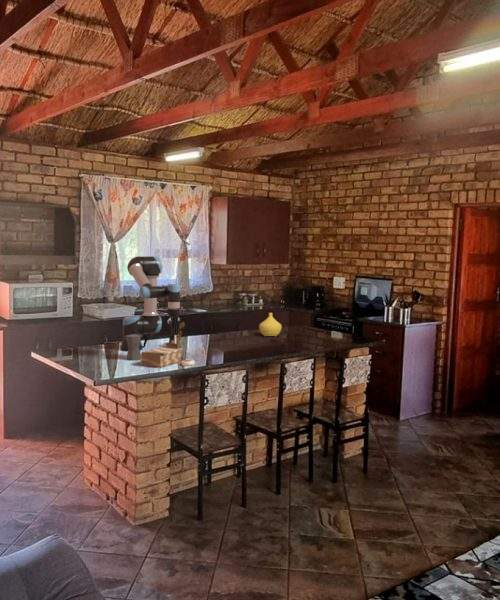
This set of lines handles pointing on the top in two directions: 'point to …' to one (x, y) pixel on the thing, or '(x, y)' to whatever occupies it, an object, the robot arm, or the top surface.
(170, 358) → the box
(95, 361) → the top surface
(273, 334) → the vase
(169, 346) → the lid
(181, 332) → the wooden mug
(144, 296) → the robot arm
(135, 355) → the coffeepot
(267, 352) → the top surface
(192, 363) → the tape roll
